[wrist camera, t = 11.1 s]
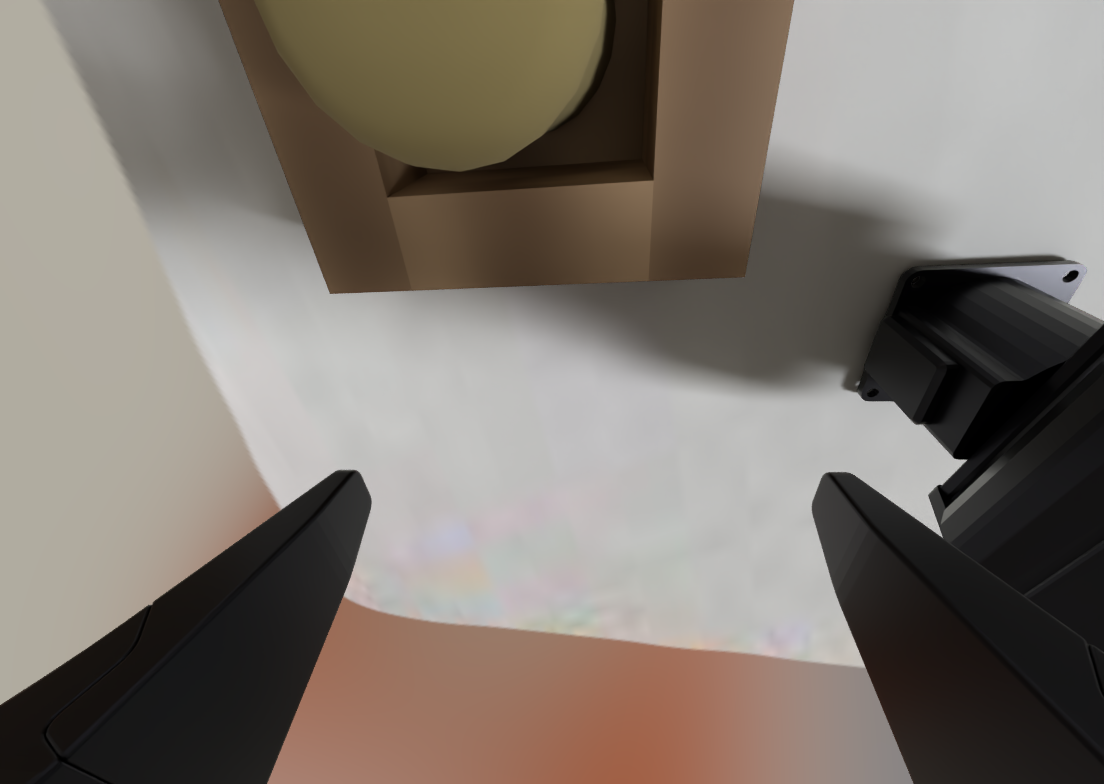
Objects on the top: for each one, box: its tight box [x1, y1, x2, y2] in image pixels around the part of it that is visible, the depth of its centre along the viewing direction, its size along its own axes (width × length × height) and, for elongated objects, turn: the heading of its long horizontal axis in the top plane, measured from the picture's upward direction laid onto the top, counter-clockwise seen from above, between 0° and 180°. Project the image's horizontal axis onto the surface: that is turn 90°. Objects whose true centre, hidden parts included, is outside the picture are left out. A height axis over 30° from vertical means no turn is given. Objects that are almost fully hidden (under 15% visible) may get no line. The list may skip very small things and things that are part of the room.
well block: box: [219, 0, 794, 294], centre depth 13 cm, size 14×14×5 cm
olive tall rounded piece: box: [254, 0, 616, 172], centre depth 10 cm, size 6×6×11 cm
